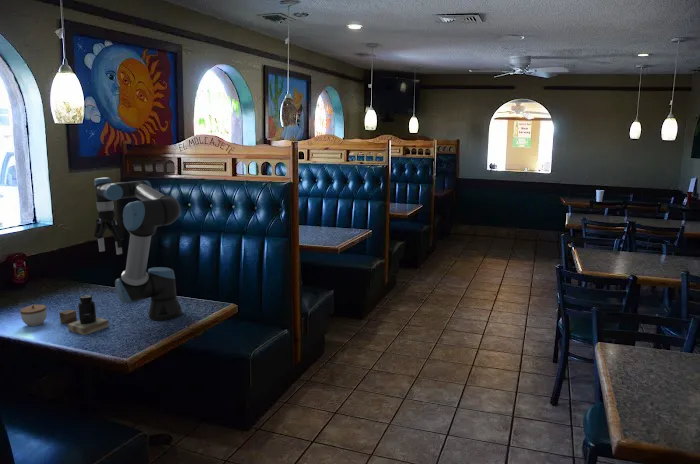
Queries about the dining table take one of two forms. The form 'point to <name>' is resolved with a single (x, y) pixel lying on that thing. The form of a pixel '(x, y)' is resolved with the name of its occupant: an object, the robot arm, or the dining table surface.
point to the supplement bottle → (87, 309)
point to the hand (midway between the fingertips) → (110, 252)
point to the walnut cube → (68, 316)
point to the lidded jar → (34, 315)
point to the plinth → (88, 326)
